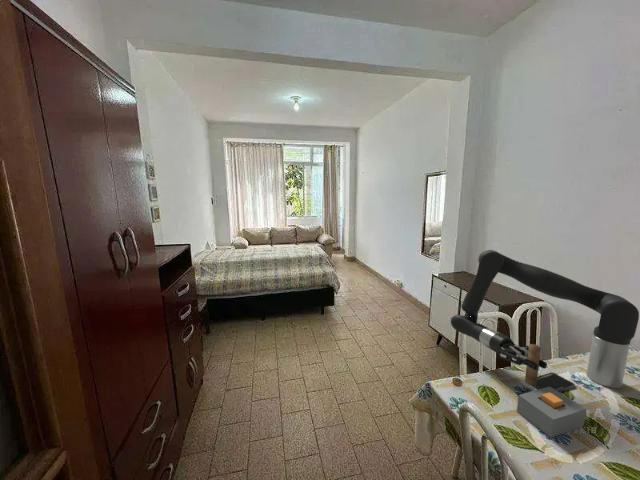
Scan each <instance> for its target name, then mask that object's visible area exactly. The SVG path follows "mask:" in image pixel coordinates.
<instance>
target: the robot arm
mask: <svg viewBox="0 0 640 480" xmlns="http://www.w3.org/2000/svg"><path fill="white" fill-rule="evenodd" d="M477 260H478V261H477V262H478V268H477V271H476V275H475V277H474V280H473V281H472V284H471V286H470V287H469V288H468V290H467V292H466V295H465V296H464V298H463V301H462V303H461V310H462V311H463V312H464V313H465V314H464V315H461V314H456V315H452V317H451V319H450V325H451V326H452V328H453V329H454V330H455V331H457V332H459V333H461V334H462V335H466V336H468V337H470V338H473V339H474V340H476V341H477V342H479V343H480V344H482V345H483V346H485V347H486V348H488V349H490V350H492V351H493V352H495V353H497V354H498V355H500V357H499V358H500V359H502V360H505V361H506V362H507V361H508V362H511V363H512V364H515V365H518V366H519V365H520V364H521V365H523V366H526V367H527V366H528V367H530V368H532V369H534V370H536V371H537V370H538V371H539V370H540V369H539V368H541V369H547V366H548V363H547V362H546V361H544V360H543V359H541V358H540V360H539V365H538V364H537V363H535V362H533V361H531V360H529V359H527V358H528V350H529V345H524V346H520V345H518V344H515V342H514V341H513V340H512V338H510V337H509V336H507V335H505V334H502V333H501V332H499V331H496V330H494V329H491V328H490V327H487V326H485V325H484V324H481V323H478V317H479V311H480V309H481V307H482V306H483V305H482V304H483V302H484V300H485V297H486V295H487V293H488V290H489V288H490V286H491V284H492V283H493V281H494V279H495V278H496V276H497V275H498V274H502V275H505V276H508V277H510V278H512V279H514V280H515V281H518V282H520V283H521V284H523V285H525V286H527V287H529V288H531V289H533V290H535V291H537V292H540V293H543V294H545V295H547V296H550V297H552V298H557V299H561V300H566V301H571V302H575V303H577V304H580V305H582V306H584V307H587V308H588V309H591V310H593V311H595V312H596V313H598V314H599V315H600V319H599V321H598V326H595V327H594V329H593V332H592V333H593V335H592V340H591V347H590V353H589V358H588V363H587V368H586V369H587V370H586V376H587V377H588V379H589V380H592V381H593V382H594V383H596V384H599V385H601V386H605V387H607V388H610V389H621V388H622V387H623V384H624V383H623V382H624V377H625V372H626V367H627V361H628V356H629V351H630V346H631V340H632V339H634V338H635V335H636V331H637V327H638V324H639V318H640V312H639V309H638V307H636V305H634V304H633V303H631V302H630V301H629V300H627V299H626V298H624V297H622V296H619V295H617V294H614V293H610V292H606V291H602V290H599V289H596V288H593V287H589V286H587V285H583V284H581V283H579V282H577V281H576V280H573V279H570V278H568V277H566V276H563V275H562V274H558V273H556V272H553V271H550V270H548V269H545V268H541V267H538V266H535V265H531V264H528V263H523V262H521V261H517V260H516V259H513V258H511V257H508V256H506V255H504V254H502V253H500V252H498V251H497V250H493V249H487V250H484V251H482V252H481V253H480V254H479V255H478V259H477ZM470 316H471V317H470Z"/></svg>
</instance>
